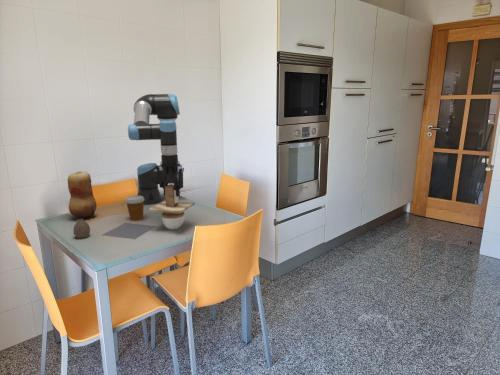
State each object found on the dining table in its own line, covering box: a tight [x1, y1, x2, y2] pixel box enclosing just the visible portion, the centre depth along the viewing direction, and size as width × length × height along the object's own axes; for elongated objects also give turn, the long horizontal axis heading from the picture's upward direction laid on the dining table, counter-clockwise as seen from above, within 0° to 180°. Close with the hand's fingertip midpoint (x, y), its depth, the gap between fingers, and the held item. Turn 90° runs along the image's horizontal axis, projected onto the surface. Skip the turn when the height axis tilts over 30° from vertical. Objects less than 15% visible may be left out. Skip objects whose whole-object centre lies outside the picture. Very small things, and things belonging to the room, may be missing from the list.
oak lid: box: [148, 184, 196, 214], centre depth 173 cm, size 16×16×11 cm
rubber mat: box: [102, 222, 157, 240], centre depth 172 cm, size 18×18×1 cm
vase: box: [72, 218, 91, 240], centre depth 164 cm, size 7×7×9 cm
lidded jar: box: [161, 211, 185, 230], centre depth 175 cm, size 11×11×9 cm
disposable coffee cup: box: [125, 194, 145, 222], centre depth 188 cm, size 10×10×12 cm
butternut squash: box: [67, 170, 98, 219], centre depth 190 cm, size 14×13×25 cm
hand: (172, 202), depth 173 cm, fingers closed on oak lid, 4 cm apart
